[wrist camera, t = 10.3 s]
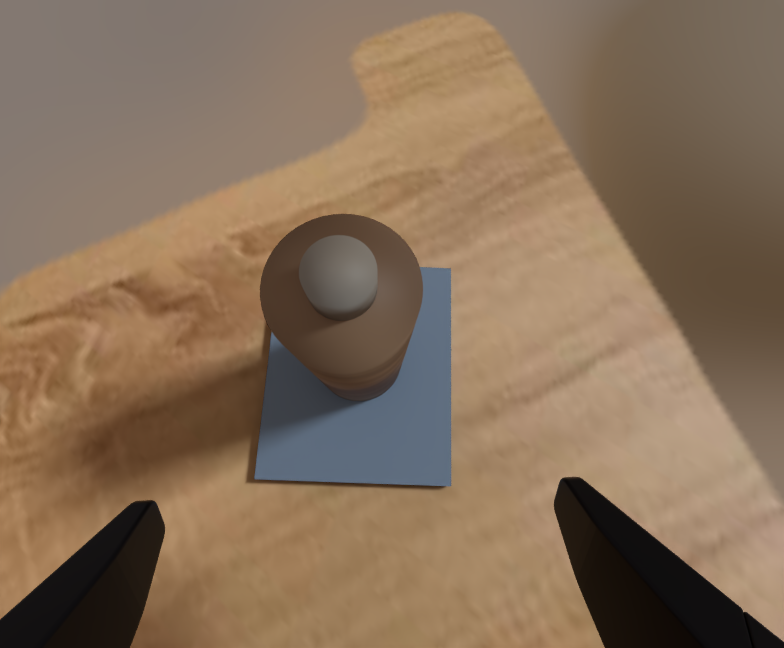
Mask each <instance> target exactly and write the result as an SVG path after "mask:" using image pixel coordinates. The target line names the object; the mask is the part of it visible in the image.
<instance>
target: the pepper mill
mask: <svg viewBox="0 0 784 648" xmlns="http://www.w3.org/2000/svg"><path fill="white" fill-rule="evenodd" d="M422 298H423V281H422V274H421V270H420V267H419V264H418V262H417V259H416V257H415V255H414V253H413V252H412V250H411V248H410V247H409V246H408V245H407V243H406V242H405V241H404V240H403V239H402V238H401V237H400V236H399V235H398V234H397V233H396V232H394V231H393V230H392V229H391V228H389V227H387V226H386V225H384V224H382V223H380V222H378V221H376V220H373V219H370V218H367V217H364V216H359V215H352V214H333V215H328V216H322V217H319V218H316V219H313V220H310V221H308V222H306V223H304V224H302V225H300V226H298V227H297V228H295V229H294V230H292V231H291V232H290V233H288V234H287V235H286V236H285V237H284V238H283V239H282V240H281V241H280V242H279V243H278V245H277V246H276V247H275V248H274V250H273V251H272V253H271V255H270V256H269V258H268V260H267V262H266V265H265V267H264V270H263V274H262V278H261V285H260V300H261V307H262V310H263V314H264V317H265V320H266V322H267V324H268V326H269V328H270V329H271V331H272V333H273V334H274V336H275V337H276V338H277V339H278V340H279V341H280V343H281V344H282V345H283V346H284V347H285V348H287V349H288V350H289V351H290V352H291V353H292V354H293V355H294V356H295V357H296V358H297V359H298V360H299V361H300V362H301V363H302V364H303V365H304V366H305V367H306V368H308V369H309V370H310V371H311V372H312V373H313V374H314V375H315V376H316V377H317V378H318V379H319V380H320V381H321V382H322V383H323V384H324V385H325V386H326V387H328V388H329V389H330V390H331V391H332V392H333V393H334V394H336V395H337V396H339V397H341V398H344V399H347V400H351V401H367V400H371V399H374V398H377V397H379V396H381V395H382V394H383V393H385V392H386V391H387V390H388V389H389V388H390V387H391V386H392V385H393V384H394V382H395V381H396V379H397V377H398V375H399V372H400V369H401V366H402V363H403V360H404V357H405V354H406V351H407V348H408V345H409V342H410V339H411V336H412V333H413V330H414V327H415V324H416V321H417V318H418V315H419V312H420V308H421V304H422Z"/></svg>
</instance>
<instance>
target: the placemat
mask: <svg viewBox="0 0 784 648" xmlns="http://www.w3.org/2000/svg"><path fill="white" fill-rule="evenodd" d="M420 270H421V274H422V281H423V298H422V304H421V308H420V312H419V315H418V318H417V321H416V324H415V327H414V330H413V333H412V336H411V339H410V342H409V345H408V348H407V351H406V354H405V357H404V360H403V363H402V366H401V369H400V372H399V375H398V377H397V379H396V381H395V382H394V384H393V385H392V386H391V387H390V388H389V389H388V390H387V391H386V392H385V393H383V394H382V395H381V396H379V397H377V398H374V399H371V400H367V401H351V400H347V399H344V398H341V397H339V396H337V395H336V394H334V393H333V392H332V391H331V390H330V389H329V388H328V387H326V386H325V385H324V384H323V383H322V382H321V381H320V380H319V379H318V378H317V377H316V376H315V375H314V374H313V373H312V372H311V371H310V370H309V369H308V368H306V367H305V366H304V365H303V364H302V363H301V362H300V361H299V360H298V359H297V358H296V357H295V356H294V355H293V354H292V353H291V352H290V351H289V350H288V349H287V348H285V347H284V346H283V345H282V344H281V343H280V341H279V340H278V339H277V338H276V337H275V336H274V334H273V333H271V341H270V350H269V358H268V367H267V375H266V384H265V392H264V401H263V409H262V418H261V426H260V435H259V443H258V452H257V460H256V469H255V477H254V479H262V480H290V481H318V482H346V483H374V484H402V485H430V486H451V269H448V268H427V267H420Z"/></svg>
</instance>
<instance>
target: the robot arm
mask: <svg viewBox="0 0 784 648" xmlns="http://www.w3.org/2000/svg"><path fill="white" fill-rule="evenodd" d="M554 510H555V514H556V517H557V520H558V523H559V527H560V530H561V533H562V536H563V539H564V543H565V546H566V549H567V552H568V555H569V559H570V562H571V565H572V568H573V571H574V574H575V577H576V580H577V583H578V585H579V588H580V590H581V593H582V595H583V597H584V600H585V602H586V604H587V607H588V609H589V612H590V614H591V616H592V619H593V621H594V623H595V626H596V628H597V630H598V633H599V635H600V637H601V640H602V642H603V645H604V647H605V648H784V642H783V641H782V640H781V639H779V638H778V637H777V636H776V635H774V634H773V633H772V632H770V631H769V630H768V629H767V628H765V627H764V626H763V625H762V624H761V623H759V622H758V621H757V620H756V619H754V618H753V617H752V616H751V615H749V614H748V613H747V612H743V610H742V608H741V607H739V606H738V605H737V604H736V603H735V602H733V601H732V600H731V599H730V598H728V597H727V596H726V595H725V594H723V593H722V592H721V591H720V590H719V589H717V588H716V587H715V586H714V585H712V584H711V583H710V582H709V581H707V580H706V579H705V578H704V577H703V576H701V575H700V574H699V573H698V572H696V571H695V570H694V569H693V568H691V567H690V566H689V565H688V564H687V563H685V562H684V561H683V560H682V559H680V558H679V557H678V556H677V555H675V554H674V553H673V552H672V551H671V550H669V549H668V548H667V547H666V546H664V545H663V544H662V543H661V542H659V541H658V540H657V539H656V538H655V537H653V536H652V535H651V534H650V533H648V532H647V531H646V530H645V529H643V528H642V527H641V526H640V525H639V524H637V523H636V522H635V521H634V520H632V519H631V518H630V517H629V516H627V515H626V514H625V513H624V512H623V511H621V510H620V509H619V508H618V507H616V506H615V505H614V504H613V503H611V502H610V501H609V500H608V499H607V498H605V497H604V496H603V495H602V494H600V493H599V492H598V491H597V490H595V489H594V488H593V487H592V486H591V485H589V484H588V483H587V482H586V481H584V480H583V479H582V478H580V477H564V478H562V479H561V480H560V482H559V486H558V489H557V493H556V496H555V500H554ZM164 534H165V525H164V521H163V519H162V516H161V514H160V511H159V508H158V506H157V503H156V502H155V501H153V500H146V501H135V502H133V503H131V504H130V505H129V506H128V507H126V508H125V509H124V510H123V511H122V512H121V513H120V514H119V515H117V516H116V517H115V518H114V519H113V520H112V521H111V522H110V523H108V524H107V525H106V526H105V527H104V528H103V529H102V530H101V531H99V532H98V533H97V534H96V535H95V536H94V537H93V538H92V539H90V540H89V541H88V542H87V543H86V544H85V545H84V546H83V547H81V548H80V549H79V550H78V551H77V552H76V553H75V554H74V555H72V556H71V557H70V558H69V559H68V560H67V561H66V562H64V563H63V564H62V565H61V566H60V567H59V568H58V569H57V570H55V571H54V572H53V573H52V574H51V575H50V576H49V577H48V578H46V579H45V580H44V581H43V582H42V583H41V584H40V585H39V586H37V587H36V588H35V589H34V590H33V591H32V592H31V593H30V594H28V595H27V596H26V597H25V598H24V599H23V600H22V601H21V602H19V603H18V604H17V605H16V606H15V607H14V608H13V609H12V610H10V611H9V612H8V613H7V614H6V615H5V616H4V617H3V618H1V619H0V648H130V646H131V644H132V641H133V638H134V636H135V633H136V630H137V628H138V625H139V622H140V619H141V617H142V614H143V611H144V607H145V604H146V601H147V597H148V594H149V590H150V586H151V583H152V579H153V575H154V572H155V568H156V564H157V561H158V557H159V553H160V550H161V546H162V542H163V539H164Z"/></svg>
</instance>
